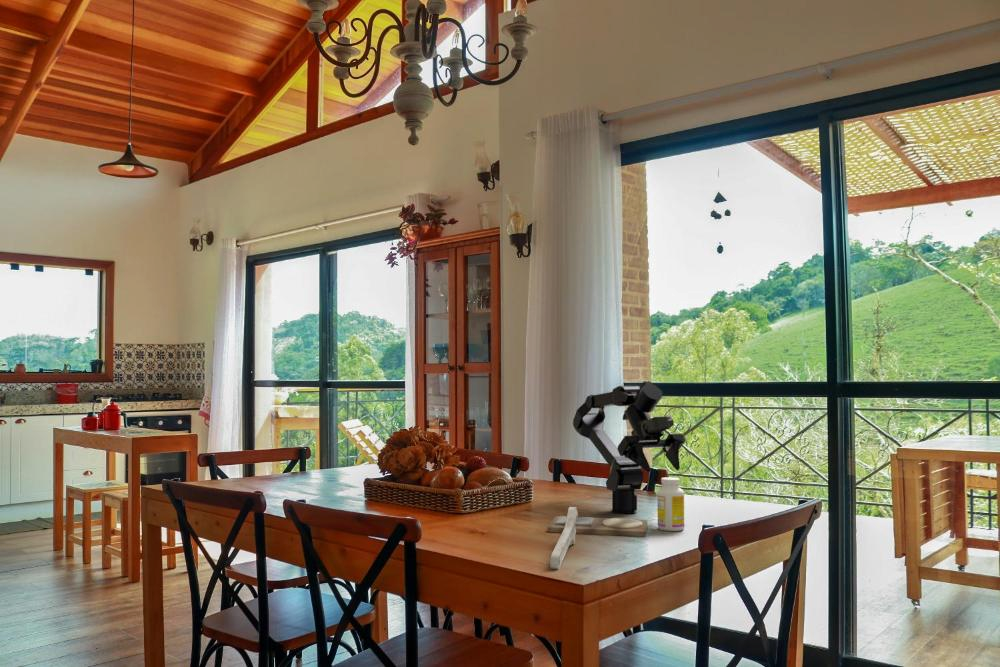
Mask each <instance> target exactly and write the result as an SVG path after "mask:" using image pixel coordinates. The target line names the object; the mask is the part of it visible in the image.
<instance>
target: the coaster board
mask: <svg viewBox="0 0 1000 667" xmlns="http://www.w3.org/2000/svg"><path fill="white" fill-rule="evenodd" d="M566 519H567V515H565V516H563V515H560V516H559V515H557V516H555V517H554V518H553V520H552V521H551V522H550V524H549V525H548V527H547V533H557V534H558V533H561V534H562V532H563V530H564V528H565V524H566ZM647 528H648V519H633V518H619V517H617V518H612V517H611V518H609V517H608V518H604V517H589V516H587V517H586V516H585V517H583V516H576V521H575V529H576V534H584V535H585V534H586V535H603V536H604V535H607V536H624V537H625V536H626V537H627V536H628V537H647V531H648V529H647Z"/></svg>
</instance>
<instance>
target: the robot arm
mask: <svg viewBox="0 0 1000 667" xmlns="http://www.w3.org/2000/svg"><path fill="white" fill-rule="evenodd" d="M662 398H663V391H662V389H661V388H659V387H658V386H656V385H655V384H652V383H651V381H650V380H646V381H643V382H642V383H641V386H639V385H618V386H616V387H614V388H613V389H612V391H608V392H603V393H598V394H590V395H587V396H586V399H585V401H584V402H583V403H582V404H581V405H580V406H579V407H578V408H577V410H576V411H575V413H574V414H575V415H574V417H573V420H572V425H573V428H574V430H575V431H576V432H577V434H578V435H580V436H581V437H584V438H586V439H589V440H590V441H591V443H592V444H593V446H594V447H595V448H596V449H597V451H598V452H599V454H600V455H601V456H602V458H603V459H604V461H605V462H606V464H608V466H609V467H610V468H609V476H608V478H607V479H606V481H605V485H606V490H609V491H611V492H612V494H611V495H612V496H611V497H612V498H611V500H612V501H611V502H612V503H611V506H612V507H611V508H612V509H611V513H612V514H614V513H616V514H635V513H636V511H637V510H638V494H636V491H637V490H638V491H640V490H641V489H642V484H643V479H644V472H643V470H644V471H646V473H650V472H651V466H650V464H649V462H648V459H647V457H646V455H645V453H644V448H645V449H659V448H660V449H661V448H662V451H663V452H664V453H665V454H664V456H665V457H666V458H667V460H668V461H669V463H670V464H671V465H672V467H673V468H674V469H675V470H676V471H680V469H681V466H680V456H679V454H680V453H679V452H680V449H681V447H683V445H684V444H685V442H687V441H686V440H687V439H686V438H685V436H684V434H682V433H669V434H668V435H667V436H666V438H665V439H661V437H663V436H664V434H665V433H664V431H666V430H670V429H671V428H672V427H673V426H674V424H675V422H674V418H672V415H670V414H665V415H664V416H654V417H651V416H650V414H649V413H652V412H654V409H655V408H656V406H657V405H658V404H659V403H660V400H661V399H662ZM610 406H617V407H627V408H626V409H625V410H624V411H623V412H624V413H623V415H622V420H623V421H628V422H629V424H630V426H631V429H632V431H631V435H624V436H623V438H622V439H621V441H620V442H619V444H618V446H617V445H616V444H615V443H614V441H613V440H612V439H611V438H610V437H609V435H608V434H607V433H606V431H605V430H604V424H605V422H604V421H605V419H606V414H605V407H610ZM592 409H598V412H594V413H593V412H592V413H591V412H590V411H592Z"/></svg>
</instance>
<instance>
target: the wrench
mask: <svg viewBox="0 0 1000 667" xmlns="http://www.w3.org/2000/svg"><path fill="white" fill-rule="evenodd" d="M578 513H579V512H578V508H577V507H576V506H569V507H568V509H567V514H566V516H567V519H566V524H565V528H564V530H563V532H562V533H561V535H560V537H559V538H558V540H557V543H556V545H555V546H554V549H553V551H552V553H551V555H550V559H549V560H550V561H549V562H550V563H549V564H550V566H549V567H550V569H551V570H553V569H554V570H559V569H560V568H561V567H562V566H561V565H562V564H563V561H564V558H565V556H566V554H567V551H568V549H569V547H570V546H572V544H573V545H574V544H576V543H575V542H576V534H577V533H576V529H575V521H576V517H579V516H578V515H579V514H578ZM559 567H560V568H559Z"/></svg>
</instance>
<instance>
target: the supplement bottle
mask: <svg viewBox="0 0 1000 667" xmlns="http://www.w3.org/2000/svg"><path fill="white" fill-rule="evenodd" d="M660 480H661V481H660V483H661V487H660V488H659V489H658V490H657V492H656V493H657V495H656V496H657V528H658V529H659V530H660V531H665V532H681V531H683V530H684V529H685V492H684V490H683V489H682V488H680V483H681V479H680V478H678V477H673V476H672V477H668V476H667V477H661V478H660Z"/></svg>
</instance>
